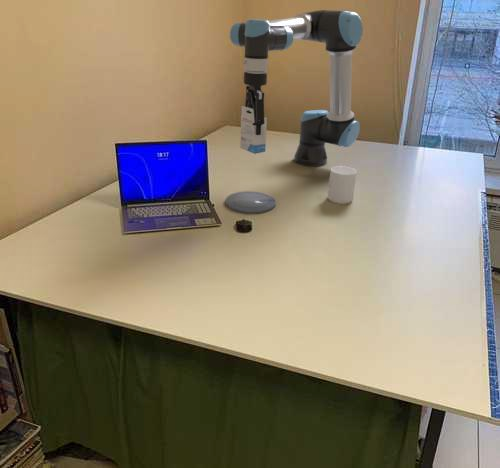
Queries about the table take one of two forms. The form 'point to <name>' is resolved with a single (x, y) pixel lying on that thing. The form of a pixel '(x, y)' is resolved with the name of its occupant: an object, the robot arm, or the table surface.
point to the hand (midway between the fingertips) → (253, 139)
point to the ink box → (251, 132)
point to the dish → (250, 202)
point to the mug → (341, 184)
